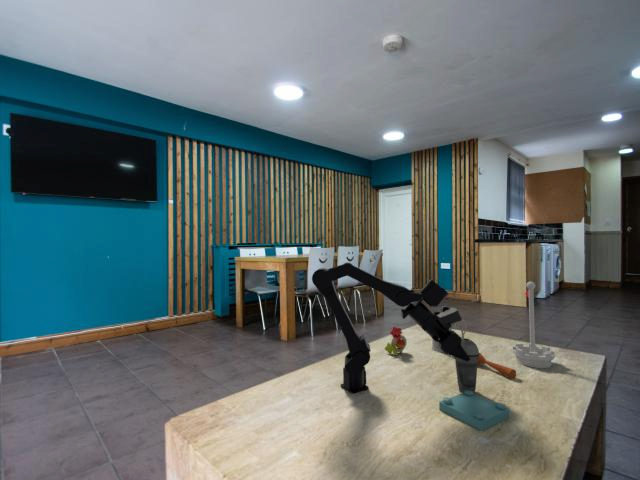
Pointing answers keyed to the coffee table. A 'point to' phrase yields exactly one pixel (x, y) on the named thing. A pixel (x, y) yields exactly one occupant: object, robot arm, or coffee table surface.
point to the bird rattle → (396, 342)
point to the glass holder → (435, 343)
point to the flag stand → (533, 341)
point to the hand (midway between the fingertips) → (463, 355)
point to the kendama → (498, 367)
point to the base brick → (474, 410)
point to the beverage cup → (467, 366)
